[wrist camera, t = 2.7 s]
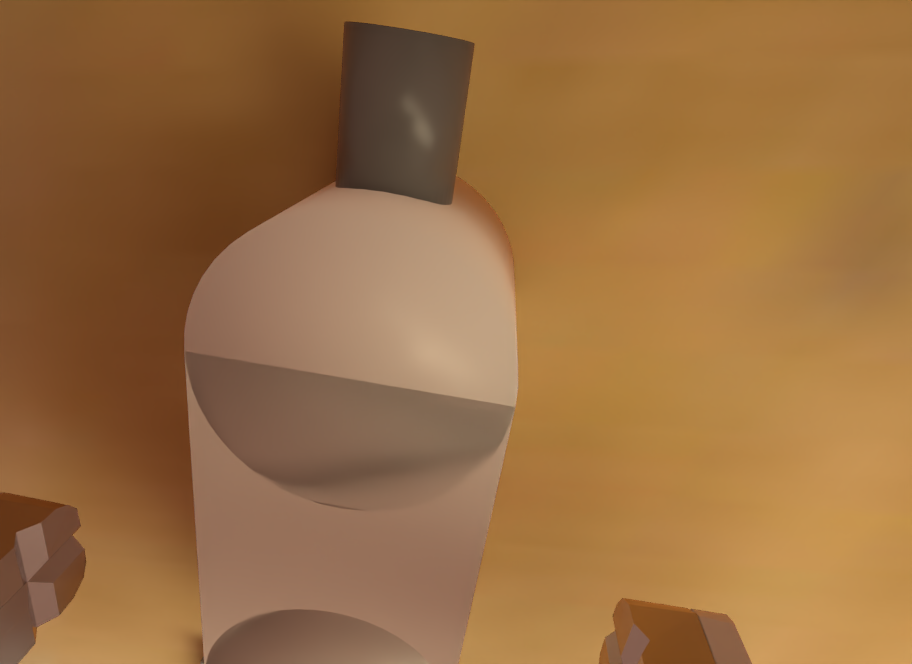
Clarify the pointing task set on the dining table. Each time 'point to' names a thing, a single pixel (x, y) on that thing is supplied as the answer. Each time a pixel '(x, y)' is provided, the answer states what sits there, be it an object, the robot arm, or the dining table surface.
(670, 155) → the dining table surface
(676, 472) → the dining table surface
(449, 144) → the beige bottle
